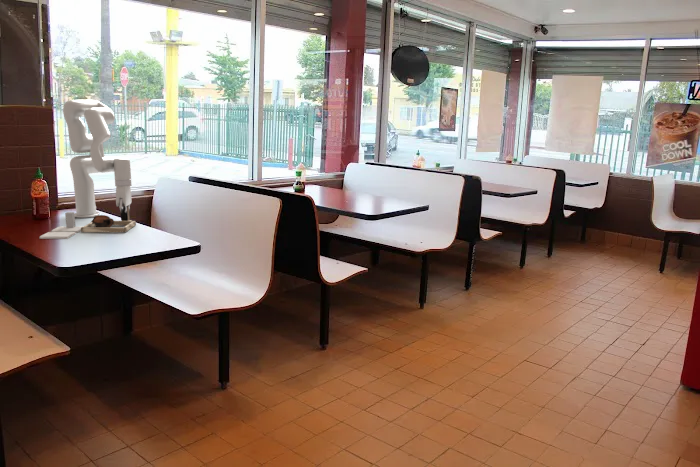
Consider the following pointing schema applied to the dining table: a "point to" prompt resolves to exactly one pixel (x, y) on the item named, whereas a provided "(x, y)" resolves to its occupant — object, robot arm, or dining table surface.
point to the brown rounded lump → (102, 221)
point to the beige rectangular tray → (129, 224)
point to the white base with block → (63, 229)
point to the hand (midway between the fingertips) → (125, 219)
